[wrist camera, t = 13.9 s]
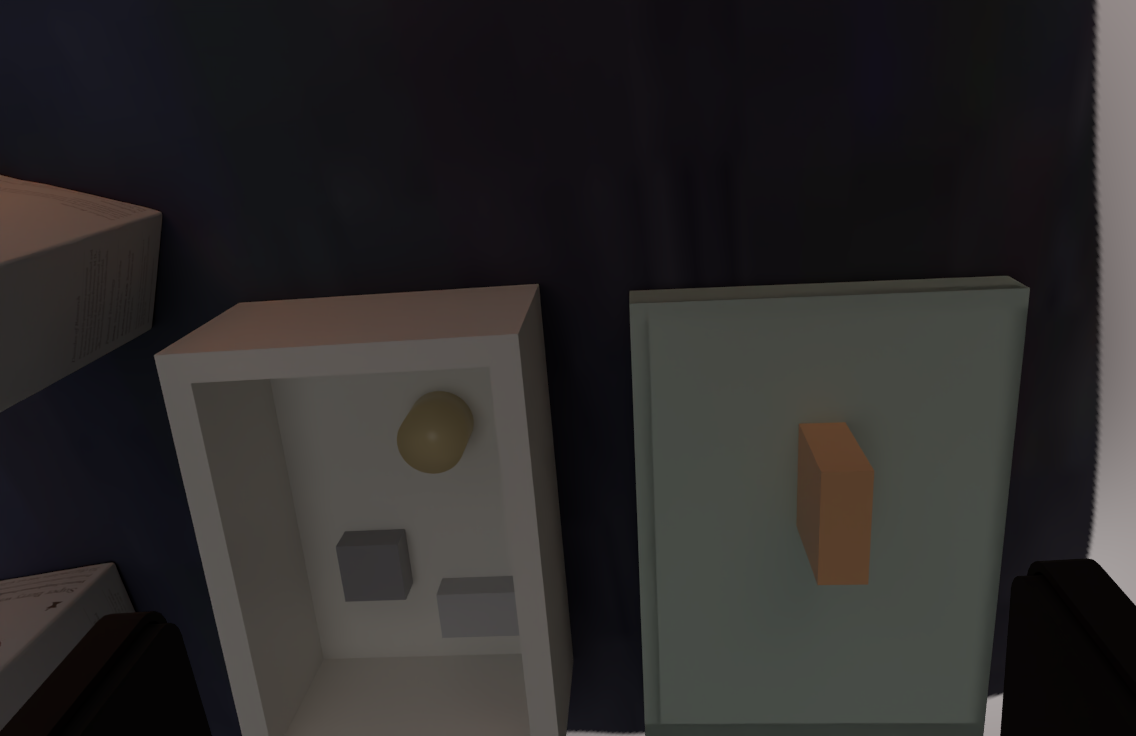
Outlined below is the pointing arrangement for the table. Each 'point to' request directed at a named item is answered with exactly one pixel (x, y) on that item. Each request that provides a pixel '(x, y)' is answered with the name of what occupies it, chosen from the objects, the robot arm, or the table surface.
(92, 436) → the table surface
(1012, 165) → the table surface
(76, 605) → the supplement box
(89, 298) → the skincare box
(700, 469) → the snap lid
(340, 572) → the parts tub
